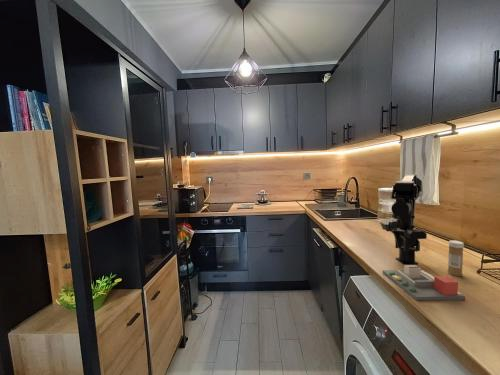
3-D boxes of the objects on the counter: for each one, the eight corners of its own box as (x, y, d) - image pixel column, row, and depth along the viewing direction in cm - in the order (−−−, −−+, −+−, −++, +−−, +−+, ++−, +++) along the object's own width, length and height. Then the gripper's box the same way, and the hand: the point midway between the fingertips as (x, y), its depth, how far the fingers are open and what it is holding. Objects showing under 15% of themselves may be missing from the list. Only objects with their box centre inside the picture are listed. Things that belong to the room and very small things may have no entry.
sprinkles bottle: (464, 275, 93) (466, 242, 92) (458, 277, 91) (460, 244, 90) (451, 270, 97) (452, 239, 96) (444, 272, 95) (446, 241, 94)
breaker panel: (382, 273, 97) (382, 265, 97) (421, 272, 97) (421, 264, 96) (416, 300, 77) (416, 291, 77) (464, 299, 77) (465, 290, 76)
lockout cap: (433, 288, 82) (434, 276, 81) (446, 287, 82) (447, 276, 81) (444, 295, 77) (444, 282, 77) (457, 294, 77) (458, 282, 77)
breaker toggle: (403, 274, 92) (404, 264, 92) (414, 274, 92) (415, 264, 92) (408, 278, 89) (409, 268, 89) (420, 278, 89) (420, 267, 89)
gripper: (372, 208, 104) (371, 242, 105) (397, 217, 85) (396, 258, 87) (397, 208, 104) (396, 242, 105) (428, 217, 85) (427, 258, 86)
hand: (402, 249), depth 96 cm, fingers open, 4 cm apart
